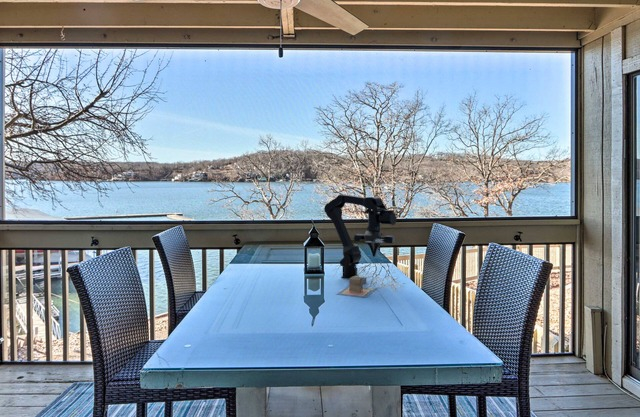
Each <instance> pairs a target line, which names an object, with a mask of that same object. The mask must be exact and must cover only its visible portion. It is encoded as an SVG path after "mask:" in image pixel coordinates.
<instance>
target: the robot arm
mask: <svg viewBox="0 0 640 417" xmlns="http://www.w3.org/2000/svg"><path fill="white" fill-rule="evenodd" d="M346 204H351V205H358V206H362V207H364V208H365V209H366V210H365V211H364V213H363V214H367V215H368V216H367V222H368V224H367V228H366V229H367V230H366V231H365V233H355V235H354V236H353V241H354V242H361V241H362V240H364V241H365V242H364V243H365V244H367V245H368V246H369V249H370V252H371V254H372V257H373V258H375V257H376V256H377V254H378V251H379V248H380V246H381V245H382V244H383V243H386V244H394V243H395V242H396V236H395V235H384V236H382V234H381V228H382V225H387V226H395V224H396V223H397V218H398V217H397V215H396V213H395V210H394V209H390V210H389V209H387V207H386V205H385V204H384V202H383V199H382V198H381V197H380V196H369V197H368V196H366V197H364V196H357V195H352V194H351V195H350V194H347V193H339V194H338V195H337V196H336V197H335V198H333V199H332V200H331V201H329V202H327V203H326V204H325V205H324V208H323V210H324V213H325V214H326V216H327V218H329V220H331V221H332V223H333V226H334V227H335V230H336V233H337V235H338V237H339V240H340V242H341V246H342V247H343V248H342V255H343V258H341V259H340V261H339V265H340V266H341V267H342V276H341V279H348V280H349V279H350V278H351V277H353V276H359V275H358V267H357V265H359V263H360V260H361V258H362V252H361V250H360V246H359V245H354V243H353V241H352V239H351V237H350V234H349V232H348V230H347V227H346V225H345V222H344V220H343V208H344V207H345V206H346Z"/></svg>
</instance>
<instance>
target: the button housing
mask: <svg viewBox="0 0 640 417" xmlns="http://www.w3.org/2000/svg"><path fill="white" fill-rule="evenodd" d="M363 277H364V279H363V286H364V285H365V284H366V283H367V277H366V276H363Z"/></svg>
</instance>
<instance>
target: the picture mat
mask: <svg viewBox="0 0 640 417" xmlns="http://www.w3.org/2000/svg"><path fill="white" fill-rule="evenodd" d="M376 290H377V288H374V287H365V286H363V291H362V292H361V293H359V294H358V293H349V285H348V286H346V287H345V288H343V289H342V290H340V291H338V292H337V293H336V295H339V296H347V297H348V296H349V297H356V298H364V299H366V298H368V297H369V296H370V295H371V294H372V293H373V292H374V291H376Z"/></svg>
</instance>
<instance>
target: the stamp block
mask: <svg viewBox="0 0 640 417" xmlns="http://www.w3.org/2000/svg"><path fill="white" fill-rule="evenodd" d="M363 277H364V276H363ZM363 277H354V276H353V277H351V278H350V279H348V281H349V285H348V286H349V293H358V294H359V293H361V292H362V291H363V287H364V285H363Z"/></svg>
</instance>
